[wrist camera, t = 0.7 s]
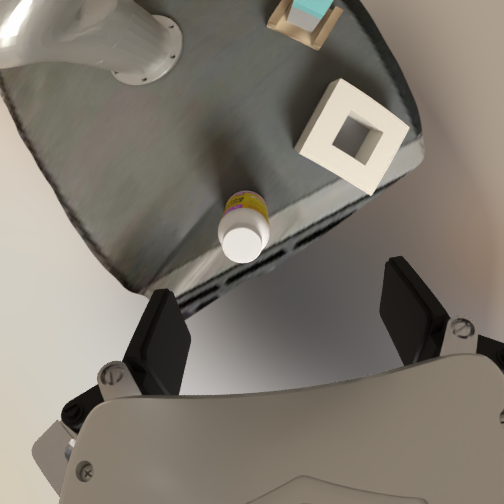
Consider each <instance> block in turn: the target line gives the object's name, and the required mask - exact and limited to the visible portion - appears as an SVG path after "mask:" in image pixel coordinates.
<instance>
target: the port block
mask: <svg viewBox="0 0 504 504" xmlns="http://www.w3.org/2000/svg"><path fill="white" fill-rule="evenodd" d="M409 128H410V127H409V126H407V125H406V124H405V123H404V122H402V121H401V120H400V119H399V118H397V117H396V116H395V115H394V114H392V113H391V112H390V111H388V110H387V109H386V108H384V107H383V106H382V105H380V104H379V103H377V102H376V101H375V100H373V99H372V98H370V97H369V96H368V95H366V94H365V93H363V92H362V91H360V90H359V89H357V88H356V87H354V86H352V85H351V84H349V83H348V82H346V81H345V80H343V79H341V78H340V79H337V80H335V81H333V82H331V83H329V84H328V86H327V88H326V89H325V91H324V93H323V95H322V97H321V99H320V100H319V102H318V104H317V106H316V108H315V109H314V111H313V113H312V115H311V117H310V119H309V120H308V122H307V124H306V126H305V128H304V130H303V131H302V133H301V135H300V137H299V139H298V141H297V142H296V144H295V146H294V148H293V149H294V150H295V151H297V152H298V153H299V154H301V155H303V156H305V157H307V158H308V159H310V160H312V161H314V162H316V163H317V164H319V165H321V166H323V167H325V168H326V169H328V170H330V171H331V172H333V173H335V174H337V175H338V176H340V177H342V178H343V179H345V180H347V181H348V182H350V183H351V184H353V185H355V186H356V187H358V188H359V189H361V190H363V191H364V192H366V193H367V194H369V195H370V196H372V194H373V192H374V191H375V189H376V187H377V186H378V184H379V182H380V180H381V179H382V177H383V175H384V174H385V172H386V170H387V168H388V167H389V165H390V163H391V161H392V159H393V158H394V156H395V154H396V152H397V150H398V149H399V147H400V145H401V143H402V141H403V139H404V137H405V136H406V134H407V132H408V130H409Z"/></svg>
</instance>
